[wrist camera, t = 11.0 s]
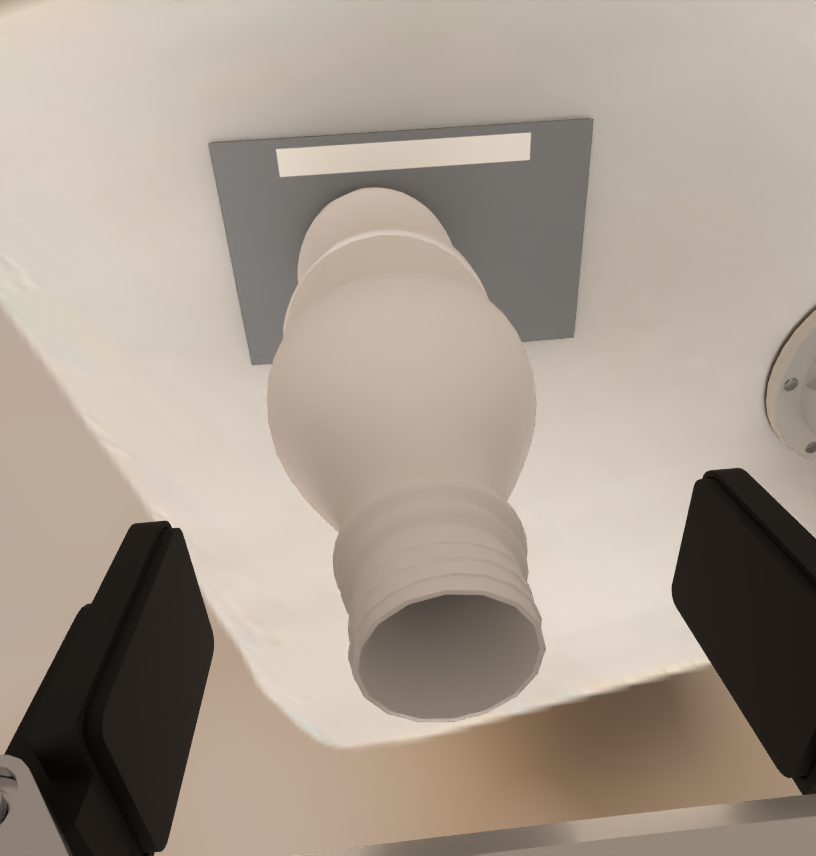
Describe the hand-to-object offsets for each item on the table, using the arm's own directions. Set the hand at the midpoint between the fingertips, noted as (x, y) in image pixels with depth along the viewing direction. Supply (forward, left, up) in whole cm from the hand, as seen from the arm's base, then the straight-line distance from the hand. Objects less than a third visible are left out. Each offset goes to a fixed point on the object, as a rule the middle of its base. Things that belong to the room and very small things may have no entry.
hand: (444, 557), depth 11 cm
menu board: (-2, 0, -23) cm, 23 cm away
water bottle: (0, 0, -23) cm, 23 cm away
